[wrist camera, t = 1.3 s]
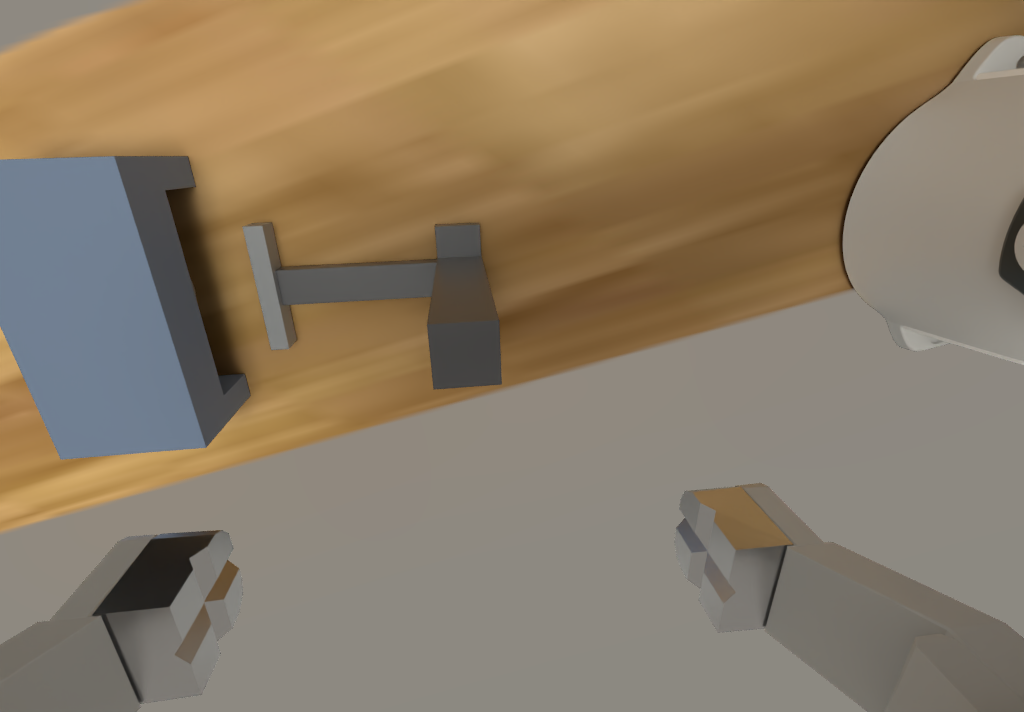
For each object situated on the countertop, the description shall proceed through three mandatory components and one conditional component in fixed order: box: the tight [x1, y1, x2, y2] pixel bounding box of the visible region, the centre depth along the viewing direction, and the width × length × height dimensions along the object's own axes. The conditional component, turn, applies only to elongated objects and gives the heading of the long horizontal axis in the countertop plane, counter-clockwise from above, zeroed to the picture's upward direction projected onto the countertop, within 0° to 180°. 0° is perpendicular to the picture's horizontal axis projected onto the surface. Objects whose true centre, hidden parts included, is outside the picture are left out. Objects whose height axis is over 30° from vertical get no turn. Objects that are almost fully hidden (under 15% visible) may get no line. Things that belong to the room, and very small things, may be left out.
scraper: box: [243, 222, 502, 389], centre depth 23 cm, size 12×7×13 cm, turn 92°
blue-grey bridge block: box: [0, 156, 250, 459], centre depth 25 cm, size 7×14×6 cm, turn 2°
